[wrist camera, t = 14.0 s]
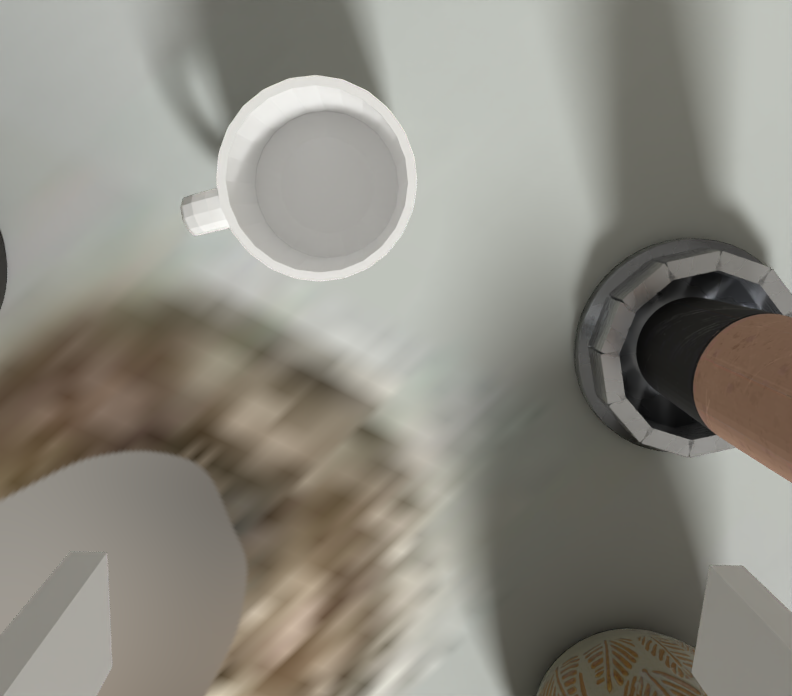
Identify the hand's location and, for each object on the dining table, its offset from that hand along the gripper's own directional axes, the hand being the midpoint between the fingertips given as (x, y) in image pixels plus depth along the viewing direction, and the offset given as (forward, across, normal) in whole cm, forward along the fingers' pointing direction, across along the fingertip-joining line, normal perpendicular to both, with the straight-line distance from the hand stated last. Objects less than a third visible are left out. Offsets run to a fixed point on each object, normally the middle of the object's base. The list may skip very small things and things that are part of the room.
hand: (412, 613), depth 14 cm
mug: (+32, -5, +9) cm, 34 cm away
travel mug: (+31, +21, 0) cm, 37 cm away
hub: (+32, +21, 0) cm, 38 cm away
